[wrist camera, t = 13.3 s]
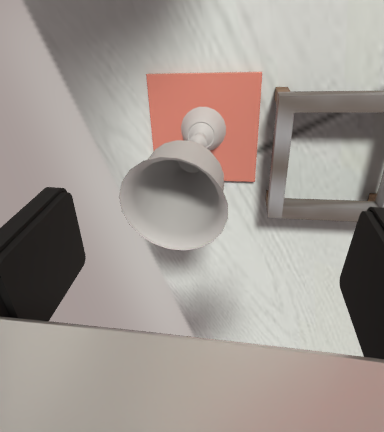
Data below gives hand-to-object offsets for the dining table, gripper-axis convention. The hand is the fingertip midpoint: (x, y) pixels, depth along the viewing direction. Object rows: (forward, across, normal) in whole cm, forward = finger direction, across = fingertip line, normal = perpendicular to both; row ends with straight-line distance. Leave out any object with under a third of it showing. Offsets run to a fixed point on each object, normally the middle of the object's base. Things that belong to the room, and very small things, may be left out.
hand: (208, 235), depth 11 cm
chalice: (+28, +3, +5) cm, 28 cm away
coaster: (+28, +3, +5) cm, 28 cm away
